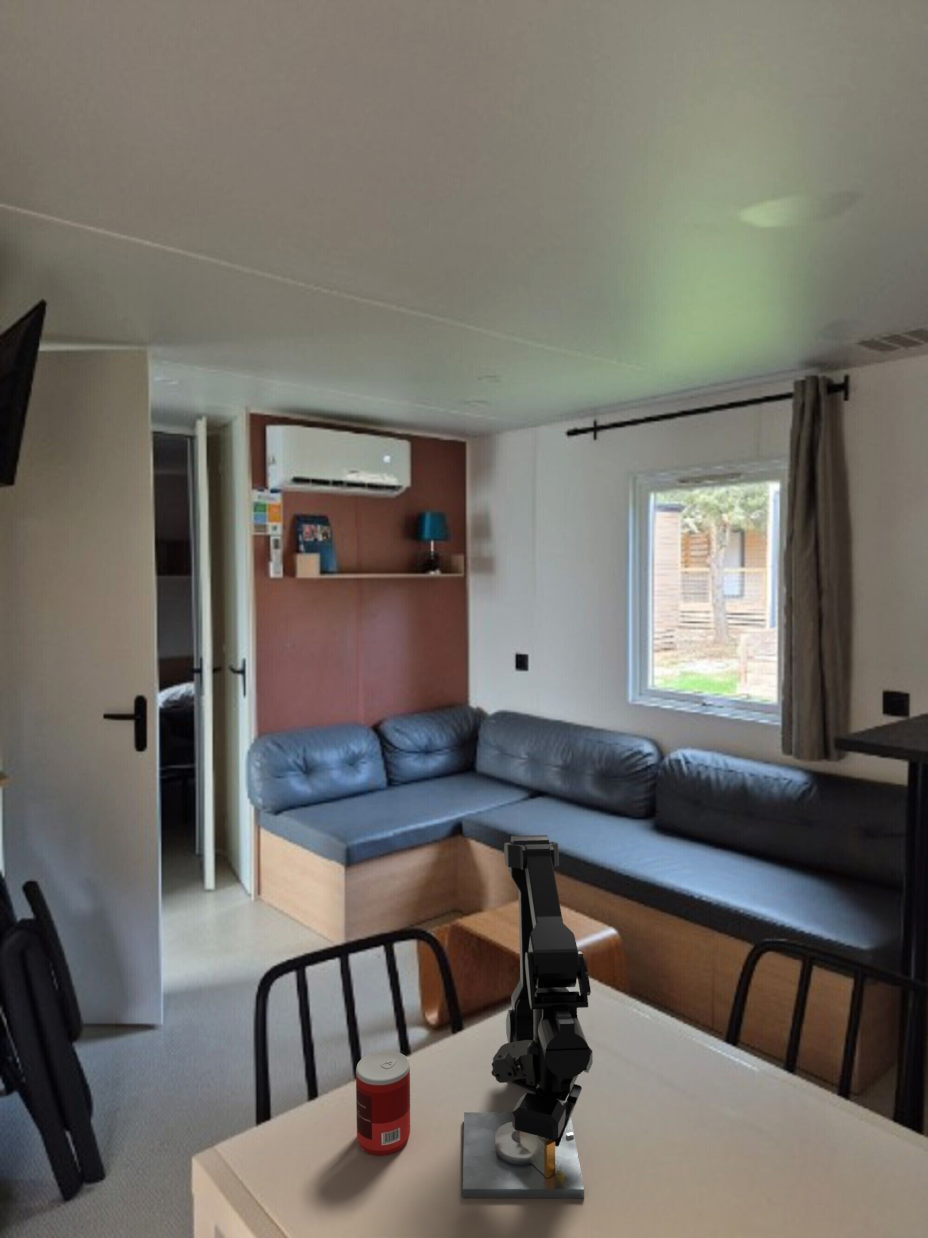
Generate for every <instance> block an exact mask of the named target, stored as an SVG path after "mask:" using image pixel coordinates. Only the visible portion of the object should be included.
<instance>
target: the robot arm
mask: <svg viewBox="0 0 928 1238" xmlns="http://www.w3.org/2000/svg"><path fill="white" fill-rule="evenodd" d="M549 839H550V838H549V835H547V834H540V835H539V834H538V835H535V834H534V835H511V836H510V841H508V842H504V847H503V848H504V849H503V852H504V864H505V865H506V867H507V868H508V873H509V875H510V877H511V878H512V880H513V881H514V884H515V885H516V888H517V891H518V929H519V962H520V963H519V964H520V965H519V967H520V968H519V969H520V971H519V973H520V974H519V975H520V979H519V982H518V983H517V985H516V987H515V989H514V991H513V992H512V994H511V996H510V997H511V999H510V1001H511V1009H508V1010H507V1014H506V1017H505V1018H506V1019H505V1028H506V1029H505V1030H506V1039H507V1043H504V1044H502V1045H501V1046H500V1047H499V1048H498V1050H497V1052H496V1053H495V1055H493V1057H492V1062H491V1067H492V1070H491V1072H490V1073H491V1075H492V1076H493V1077H494V1078H495V1080H496V1082H498V1083H500V1084H502V1083H510V1082H513V1083H515V1084H518V1085H519V1086H522V1087H524V1088H527V1089H529V1090H531V1091H534V1092H535V1093H530V1092H526V1093H524V1094H523V1095H522V1096H521V1097H520V1098H519V1100H518V1102H517V1103H516V1105H515V1106H514V1109H513V1110H512V1126H513V1128H514V1129H515V1130H518V1131H521V1132H525V1133H529V1134H533V1135H537V1136H540V1137H544V1138H548V1139H552V1140H554V1141H555V1146H557V1147H558V1146H559V1144H560V1142H561V1140H562V1137H563V1135H564V1132H565V1129H566V1127H567V1124H568V1122H569V1119H570V1117H571V1118H572V1114H573V1112H574V1109H575V1107H576V1104H577V1102H578V1099H579V1098H580V1095H581V1092H582V1090H583V1089H582V1085H580V1084H576V1081H577V1078H578V1077H579V1075H581V1074H582V1073H583V1072H584V1073H589V1072H590V1070H591V1068H592V1065H593V1060H594V1059H593V1050H592V1048H591V1047H590V1045H589V1044H588V1041H587V1039H586V1035H585V1033H584V1030H583V1028H582V1025H581V1023H580V1019H579V1018H578V1009H582V1008H583V1009H585V1008H587V1009H588V1008H589V999H588V998H589V997H588V996H590V995H591V993H592V991H591V985H590V978H589V970H588V965H587V959H586V958H585V957H584V953H583V952H582V950H579V949H578V946H577V942H576V938H575V937H576V936H575V933H574V932H573V931H572V930H571V929H570V928H569V927H568V926H567V925H566V924H565V923H564V920H563V915H562V910H561V904H560V898H559V897H560V896H559V891H558V887H557V880H556V875H555V874H556V873H555V870H554V869H555V868H556V867H559V866H560V863H559V862H560V860H559V843H558V842H556V841H550V840H549ZM577 982H578V988H579V991H575V990H573V991H569V989H568V988H575V987H576V986H577Z"/></svg>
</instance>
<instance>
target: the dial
mask: <svg viewBox="0 0 928 1238" xmlns="http://www.w3.org/2000/svg"><path fill="white" fill-rule="evenodd" d="M495 1149H496V1152H497V1154H498V1155H499V1156H500V1157H501V1158H502V1159H503V1160H505V1161H507V1162H509V1163H512V1164H518V1165H525V1164H530V1163H532V1164H533V1165H534V1166H535V1167H536V1168H537V1169H538V1170H539V1171H540V1172H541V1173H542V1174H544V1176H545V1177H546V1178H548V1177H550V1176H552V1175H554V1174H555V1141H554V1140H552V1139H548V1138H544V1137H540V1136H537V1135H533V1134H529V1133H525V1132H521V1131H518V1130H515V1129H514V1128H513V1126H512V1122H509V1123H506V1124H504V1125H502V1126H501V1127H500V1128H499V1129H498V1130H497V1132H496V1134H495Z"/></svg>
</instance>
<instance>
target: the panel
mask: <svg viewBox="0 0 928 1238" xmlns="http://www.w3.org/2000/svg"><path fill="white" fill-rule="evenodd" d="M512 1112H513V1111H512ZM512 1112H510V1111H509V1112H507V1111H506V1112H502V1111H501V1112H496V1111H495V1112H494V1111H493V1112H490V1111H489V1112H488V1111H487V1112H485V1111H484V1112H477V1111H476V1112H473V1111H472V1112H469V1111H468V1112H464V1111H463V1150H462V1151H463V1153H462V1154H463V1155H462V1157H463V1160H462V1198H463V1199H585V1185H584V1181H583V1175H582V1171H581V1170H582V1169H581V1166H580V1165H581V1164H580V1160H579V1155H578V1148H577V1144H576V1139H575V1138H576V1137H575V1131H574V1126H573V1122H572V1116H571V1117H570V1119H569V1122H568V1124H567V1127H566V1129H565V1132H564V1135H563V1137H562V1140H561V1142H560V1144H559V1146H558V1147H557V1146H555V1174H554V1175H552V1176H550V1177H548V1178H546V1177H545V1176H544V1174H542V1173H541V1172H540V1171H539V1170H538V1169H537V1168H536V1167H535V1166H534V1165H533V1164H532V1163H530V1164H525V1165H518V1164H512V1163H509V1162H507V1161H505V1160H503V1159H502V1158H501V1157H500V1156H499V1155H498V1154H497V1152H496V1149H495V1134H496V1132H497V1130H498V1129H499V1128H500V1127H501V1126H502V1125H504V1124H506V1123H509V1122H512Z"/></svg>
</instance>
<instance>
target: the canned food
mask: <svg viewBox="0 0 928 1238" xmlns="http://www.w3.org/2000/svg"><path fill="white" fill-rule="evenodd" d="M410 1066H411V1065H410V1060H409V1059H408V1057H407V1056H406V1055H405V1054H403V1053H401V1052H398V1051H395V1050H381V1051H375V1052H371V1053H370V1054H367V1055H365V1056H363V1057H362V1058H361V1059H360V1060H359V1061H358V1063H357V1065H356V1069H355V1093H356V1094H355V1096H356V1097H355V1098H356V1101H355V1102H356V1104H355V1105H356V1106H355V1107H356V1140H357V1142H358V1144H359V1147H360V1148H361V1150H362V1151H364V1152H366V1153H367V1154H370V1155H373V1156H385V1155H387V1156H388V1155H390V1154H393V1153H396V1152H398V1151H399V1150H401V1149H402V1148H404V1146H405V1145H407V1143H408V1140H409V1137H410V1134H411V1067H410Z"/></svg>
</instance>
